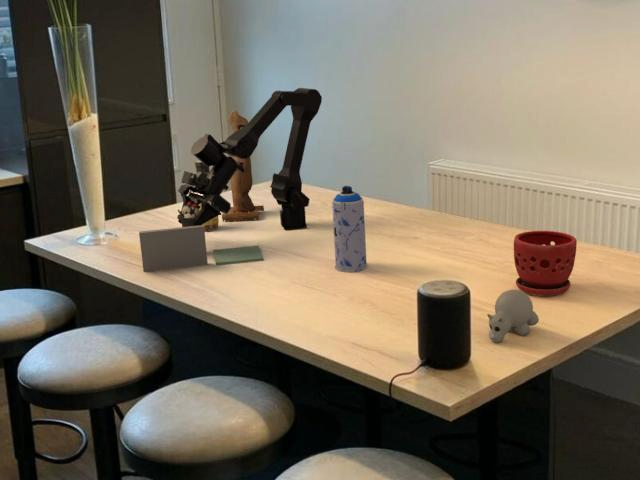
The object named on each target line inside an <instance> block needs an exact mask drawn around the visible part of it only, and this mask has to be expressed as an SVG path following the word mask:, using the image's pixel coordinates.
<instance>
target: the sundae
mask: <svg viewBox="0 0 640 480" xmlns="http://www.w3.org/2000/svg"><path fill="white" fill-rule="evenodd" d="M194 197H196V196H194ZM194 197H193V198H194ZM192 200H193V199H192ZM192 200H191V201H192ZM194 200H195V198H194ZM191 201H190V202H188V203H187V205H186V206H184V207H183V209H182V208H181V210H182V213H181V210H180V209H177V212H178V213H179V214H177V217H176V218H177V220H179V219H180V220H181V227H189V226H192V225H193V223H194V221H195V219H196V217H197V215H198V213H199V212H200V210H199V209H198V208H196V207H197V205H196V204H195V201H194V204H193V205H192V203H191Z"/></svg>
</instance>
